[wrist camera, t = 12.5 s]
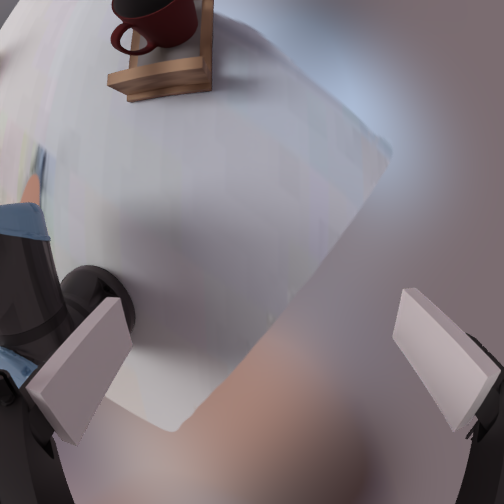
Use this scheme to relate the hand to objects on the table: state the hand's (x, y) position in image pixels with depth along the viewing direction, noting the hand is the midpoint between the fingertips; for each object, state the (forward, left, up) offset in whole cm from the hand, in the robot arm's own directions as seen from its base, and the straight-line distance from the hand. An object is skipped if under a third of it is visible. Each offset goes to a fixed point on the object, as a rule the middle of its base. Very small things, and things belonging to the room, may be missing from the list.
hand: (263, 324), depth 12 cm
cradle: (-12, +28, -27) cm, 40 cm away
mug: (-12, +27, -25) cm, 39 cm away
